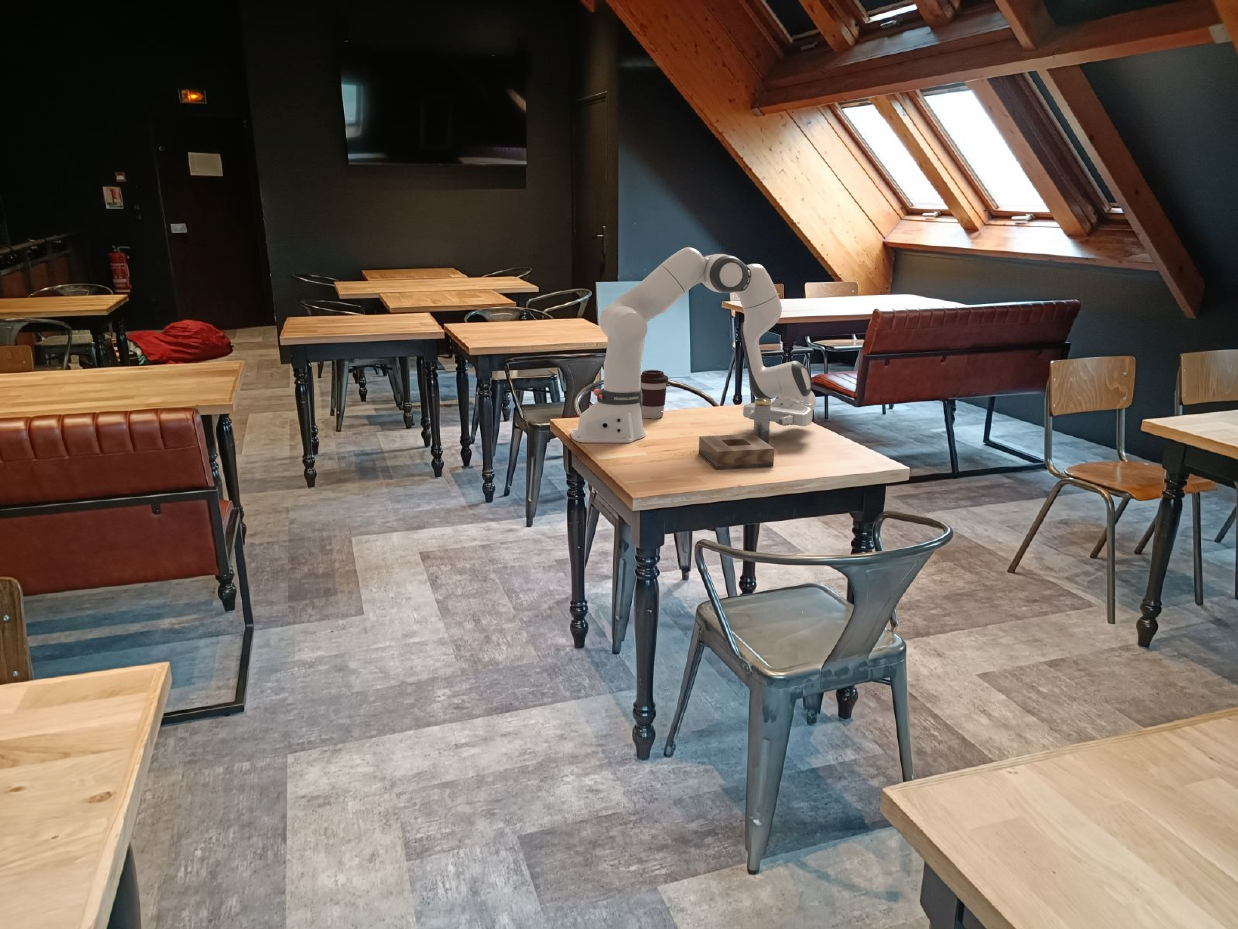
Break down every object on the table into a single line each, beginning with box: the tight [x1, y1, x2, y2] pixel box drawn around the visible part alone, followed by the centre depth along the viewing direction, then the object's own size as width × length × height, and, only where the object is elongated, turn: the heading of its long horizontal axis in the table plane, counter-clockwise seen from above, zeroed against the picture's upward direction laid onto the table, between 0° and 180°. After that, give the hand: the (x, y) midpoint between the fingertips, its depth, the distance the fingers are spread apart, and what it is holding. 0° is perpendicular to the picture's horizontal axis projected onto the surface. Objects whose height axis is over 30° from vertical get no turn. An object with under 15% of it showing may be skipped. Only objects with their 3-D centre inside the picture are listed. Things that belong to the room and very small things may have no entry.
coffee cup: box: [641, 369, 669, 419], centre depth 291 cm, size 10×10×15 cm
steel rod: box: [752, 398, 772, 445], centre depth 255 cm, size 5×5×14 cm
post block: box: [698, 433, 775, 471], centre depth 244 cm, size 16×16×5 cm
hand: (766, 418), depth 257 cm, fingers open, 8 cm apart
